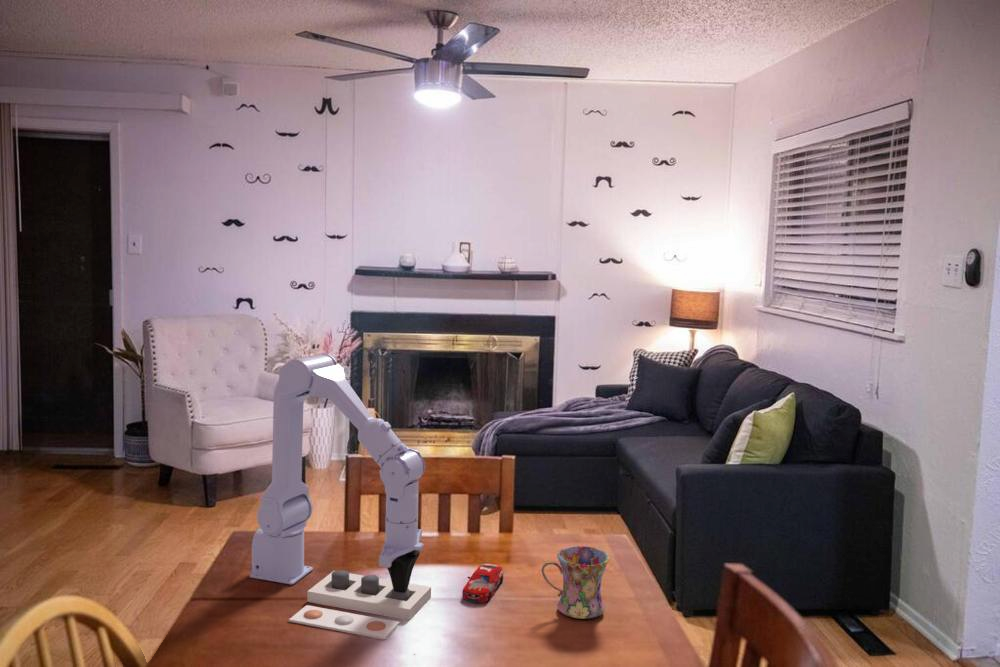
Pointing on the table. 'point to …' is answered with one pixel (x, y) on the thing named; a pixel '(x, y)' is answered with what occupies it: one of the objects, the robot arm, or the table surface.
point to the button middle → (370, 584)
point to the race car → (483, 583)
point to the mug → (580, 581)
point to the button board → (369, 597)
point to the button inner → (340, 579)
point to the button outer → (400, 595)
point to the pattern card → (345, 622)
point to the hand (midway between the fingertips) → (400, 590)
